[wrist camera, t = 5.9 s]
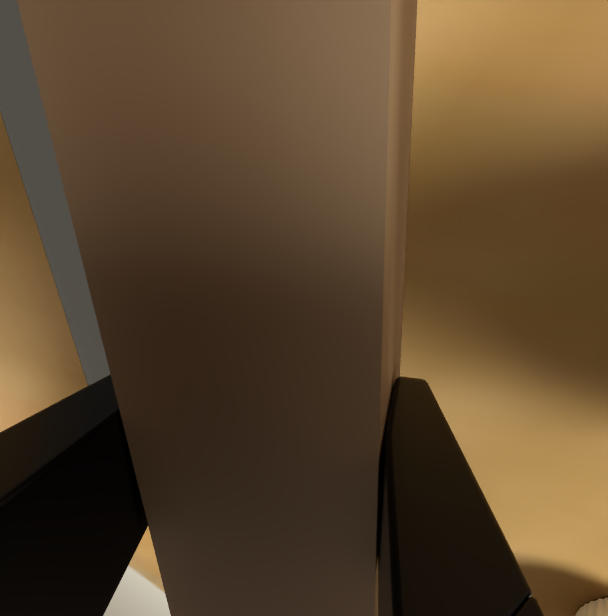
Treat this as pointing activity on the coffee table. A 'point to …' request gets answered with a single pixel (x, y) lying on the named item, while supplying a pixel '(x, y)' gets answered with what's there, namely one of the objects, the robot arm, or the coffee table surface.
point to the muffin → (594, 608)
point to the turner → (243, 274)
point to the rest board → (46, 188)
